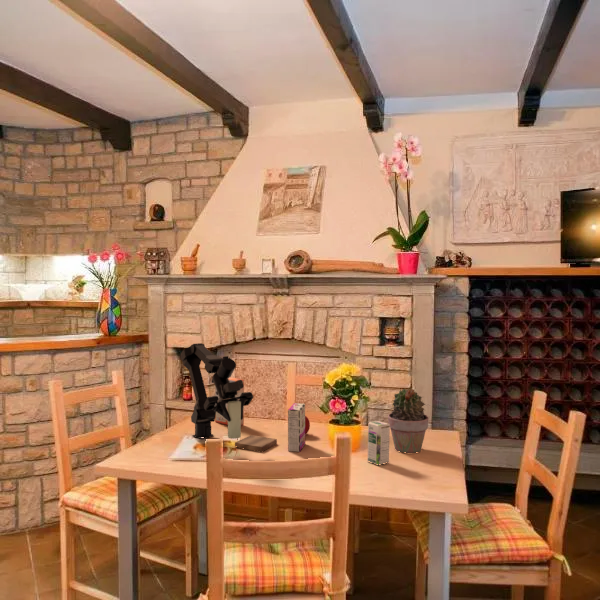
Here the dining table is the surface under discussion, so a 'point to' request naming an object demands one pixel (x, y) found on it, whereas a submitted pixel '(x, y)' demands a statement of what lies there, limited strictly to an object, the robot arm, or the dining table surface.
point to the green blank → (234, 419)
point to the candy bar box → (296, 427)
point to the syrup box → (378, 442)
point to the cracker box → (219, 417)
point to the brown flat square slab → (256, 443)
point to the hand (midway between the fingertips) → (236, 420)
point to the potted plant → (408, 421)
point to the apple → (307, 425)
